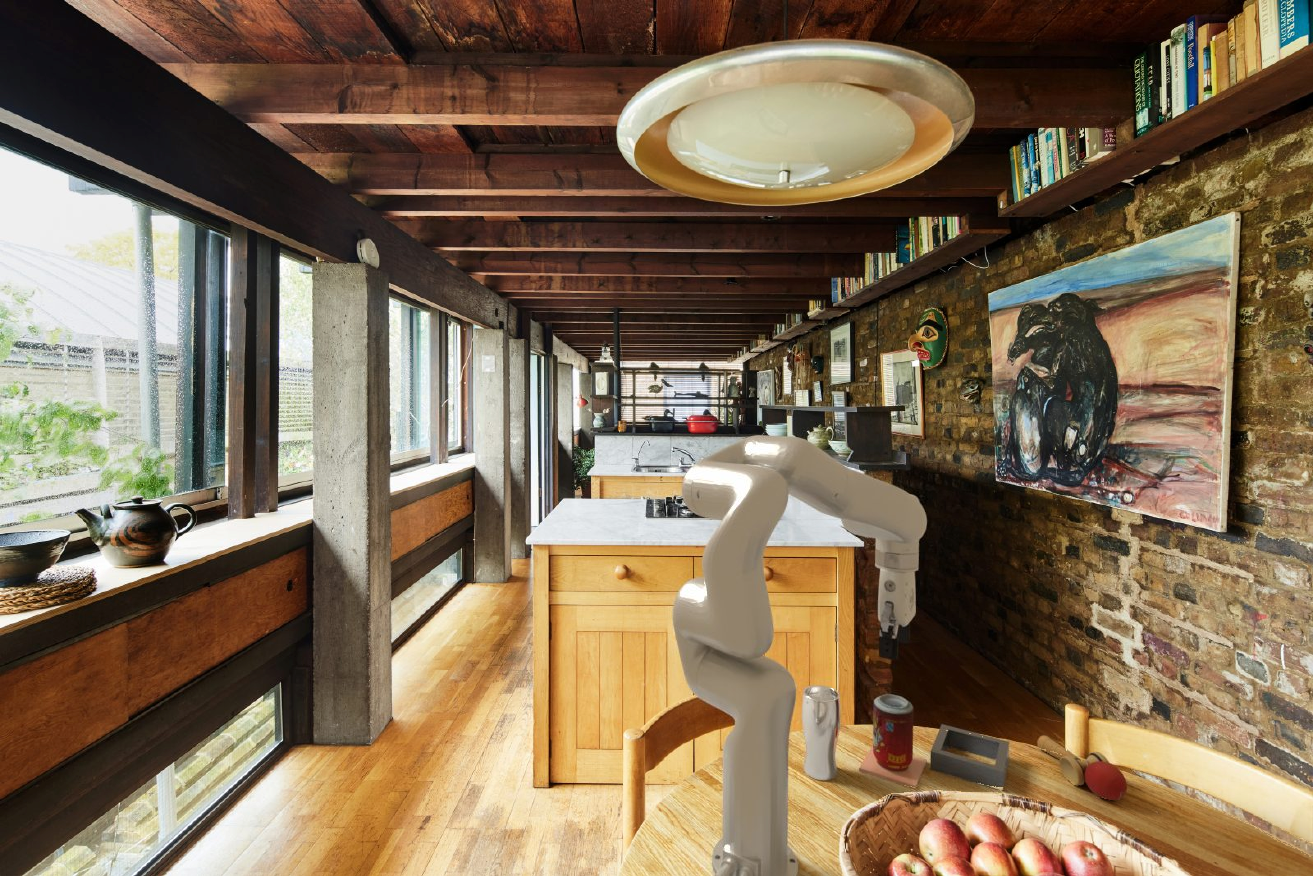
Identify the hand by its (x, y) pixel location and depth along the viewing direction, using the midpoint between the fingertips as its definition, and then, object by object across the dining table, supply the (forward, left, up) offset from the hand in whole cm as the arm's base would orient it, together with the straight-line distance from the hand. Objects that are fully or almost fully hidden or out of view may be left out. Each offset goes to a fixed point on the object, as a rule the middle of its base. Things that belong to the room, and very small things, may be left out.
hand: (894, 650), depth 115 cm
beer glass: (-9, +11, -23) cm, 27 cm away
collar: (+9, -12, -23) cm, 27 cm away
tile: (0, 0, -23) cm, 23 cm away
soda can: (0, 0, -22) cm, 22 cm away
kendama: (+16, -29, -23) cm, 40 cm away
